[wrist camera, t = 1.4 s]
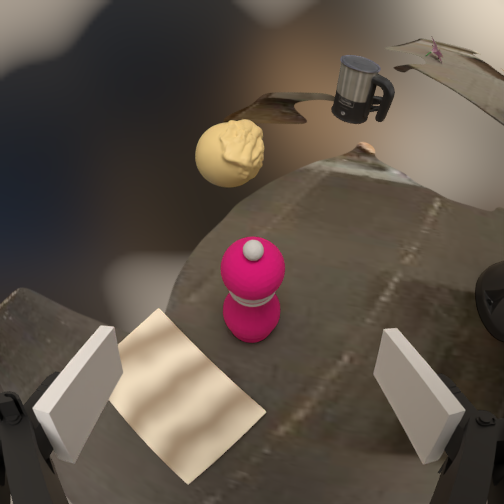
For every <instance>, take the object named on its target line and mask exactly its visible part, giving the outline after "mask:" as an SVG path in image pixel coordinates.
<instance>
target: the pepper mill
mask: <svg viewBox="0 0 504 504" xmlns="http://www.w3.org/2000/svg"><path fill="white" fill-rule="evenodd" d="M284 274H285V263H284V259H283V256H282V254H281V252H280V251H279V249H278V248H277V247H276V246H275V245H274V244H273V243H271V242H270V241H268V240H266V239H263V238H260V237H246V238H242V239H240V240H237V241H236V242H234V243H233V244H232V245H231V246H230V247H229V248H228V249H227V250H226V252H225V254H224V256H223V258H222V262H221V276H222V279H223V282H224V284H225V286H226V287H227V288H228V290H229V294H228V295H227V297H226V299H225V301H224V305H223V316H224V320H225V323H226V325H227V326H228V328H229V329H230V330H231V331H232V333H233V334H234V336H236V337H237V338H238V339H240V340H242V341H244V342H249V343H255V342H259V341H261V340H263V339H265V338H266V337H267V336H268V335H269V334H270V333H271V331H272V330H273V329H274V328H275V327H276V325H277V323H278V321H279V318H280V303H279V300H278V298H277V296H276V294H275V292H276V290H277V289H278V288H279V286H280V285H281V283H282V281H283V278H284Z"/></svg>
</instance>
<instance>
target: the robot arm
mask: <svg viewBox="0 0 504 504" xmlns="http://www.w3.org/2000/svg"><path fill="white" fill-rule="evenodd" d="M476 303H477V308H478V311H479V314H480V317H481V319H482V321H483V323H484V325H485V327H486V328H487V329H488V331H489V332H490V333H491V334H492V335H493V336H494V337H495V338H497V339H498V340H500V341H503V342H504V261H501V262H499V263H495V264H493V265H491V266H489V267H488V268H487V269H486V270H485V271H484V272H483V273H482V274H481V275H480V277H479V279H478V281H477V285H476ZM122 374H123V368H122V364H121V359H120V354H119V350H118V345H117V339H116V334H115V328H114V327H110V326H100V327H99V328H98V329H97V330H96V332H95V333H94V334H93V335H92V336H91V337H90V338H89V340H88V341H87V342H86V343H85V344H84V345H83V347H82V348H81V349H80V350H79V351H78V353H77V354H76V355H75V356H74V357H73V358H72V360H71V361H70V362H69V363H68V364H67V366H66V367H65V368H64V369H63V371H62V372H61V373H60V372H54V373H53V374H51V375H49V376H48V377H47V378H46V379H45V380H44V381H43V382H42V383H41V385H40V386H39V387H38V388H37V389H36V390H37V391H35V392H34V393H33V394H32V395H31V397H30V398H29V399H28V400H27V402H26V403H25V404H24V405H23V404H22V402H21V400H20V398H19V395H17V394H16V393H14V392H10V391H9V392H2V393H0V504H10V495H11V496H12V501H13V504H69V503H68V501H67V498H66V496H65V493H64V491H63V488H62V486H61V483H60V481H59V478H58V475H57V472H56V470H55V467H54V464H53V461H52V459H51V457H50V454H51V452H52V451H53V450H54V452H55V453H56V455H57V457H58V459H61V460H64V461H67V462H70V463H73V464H75V462H76V460H77V458H78V456H79V454H80V452H81V450H82V448H83V446H84V444H85V442H86V440H87V439H88V437H89V435H90V433H91V431H92V429H93V427H94V425H95V423H96V421H97V420H98V418H99V416H100V414H101V412H102V410H103V408H104V407H105V405H106V403H107V401H108V399H109V397H110V396H111V394H112V392H113V390H114V388H115V387H116V385H117V383H118V381H119V380H120V378H121V376H122ZM373 375H374V376H375V378H376V380H377V382H378V383H379V385H380V387H381V389H382V390H383V392H384V394H385V396H386V397H387V399H388V401H389V403H390V405H391V406H392V408H393V410H394V412H395V414H396V415H397V417H398V419H399V421H400V423H401V424H402V426H403V428H404V430H405V432H406V434H407V435H408V437H409V439H410V441H411V443H412V445H413V447H414V449H415V450H416V452H417V454H418V456H419V458H420V460H421V462H422V464H423V465H424V464H427V463H430V462H434V461H437V460H439V458H440V457H441V455H442V453H443V452H444V450H445V451H446V453H447V455H448V457H447V459H446V461H445V462H444V464H443V465H442V467H441V468H440V470H439V471H438V473H441V475H440V478H439V481H438V483H437V486H436V489H435V491H434V494H433V497H432V499H431V502H430V504H486V502H487V501H488V504H504V418H501V419H497V418H496V417H495V415H493V414H492V413H491V412H488V411H485V410H478V411H477V410H476V408H475V407H474V406H473V405H472V404H471V402H470V401H469V400H468V399H467V398H466V396H465V395H464V394H463V393H461V391H460V389H459V388H458V387H456V385H455V384H454V382H453V381H452V380H451V379H450V378H448V377H447V376H445V375H443V374H442V373H441V374H436V373H435V372H434V371H433V370H432V368H431V367H430V366H429V365H428V364H427V362H426V361H425V360H424V359H423V358H422V357H421V355H420V354H419V353H418V352H417V351H416V350H415V348H414V347H413V346H412V345H411V344H410V343H409V341H408V340H407V339H406V338H405V337H404V336H403V335H402V333H401V332H400V331H399V330H398V329H397V328H392V329H383V334H382V339H381V343H380V348H379V353H378V357H377V361H376V365H375V369H374V374H373ZM441 471H442V472H441Z"/></svg>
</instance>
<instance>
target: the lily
mask: <svg viewBox="0 0 504 504" xmlns="http://www.w3.org/2000/svg"><path fill="white" fill-rule="evenodd" d="M433 42H434V45H432V46H433V49H432V51H431V52H433V53H435V54H436V55H437V56H438V58H439V59H440V61H441V58H440V57H443V55H442V53H441V52H440V50H439V49H438V48H437V45H436V43H435V41H434V39H433ZM431 52H430V53H431ZM428 54H429V53H428ZM428 54H427V55H428ZM427 55H426V56H427ZM441 63H442V61H441Z"/></svg>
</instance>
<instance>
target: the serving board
mask: <svg viewBox="0 0 504 504" xmlns="http://www.w3.org/2000/svg"><path fill="white" fill-rule="evenodd" d="M118 350H119V354H120V359H121V364H122V368H123V374H122V376H121V378H120V380H119V381H118V383H117V385H116V387H115V388H114V390H113V392H112V394H111V396H110V397H109V400H110V402H111V403H112V404H113V405H114V407H115V408H116V409H117V410H118V412H119V413H120V414H121V415H122V416H123V418H124V419H125V420H126V421H127V422H128V423H129V425H130V426H131V427H132V428H133V429H134V430H135V431H136V433H137V434H138V435H139V436H140V437H141V438H142V439H143V440H144V441H145V443H146V444H147V445H148V446H149V447H150V448H151V449H152V450H153V451H154V452H155V453H156V454H157V455H158V456H159V457H160V458H161V459H162V460H163V461H164V462H165V463H166V464H167V465H168V466H169V467H170V468H171V469H172V470H173V471H174V472H175V473H176V474H177V475H178V476H179V477H180V478H181V479H182V480H183V481H185V482H186V483H187V484H189V483H191V482H192V481H193V480H194V479H195V478H196V477H198V476H199V475H200V474H201V473H202V472H203V471H205V470H206V469H207V468H208V467H209V466H210V465H211V464H213V463H214V462H215V461H216V460H217V459H218V458H219V457H220V456H221V455H222V454H224V453H225V452H226V451H227V450H228V449H229V448H230V447H231V446H232V445H233V444H234V443H235V442H236V441H237V440H239V439H240V438H241V437H242V436H243V435H244V434H245V433H246V432H247V431H248V430H249V429H250V428H251V427H252V426H253V425H254V424H255V423H256V422H257V421H258V420H259V419H260V418H261V417H262V416H263V415H264V414H265V413H266V411H265V410H264V409H263V408H262V407H261V406H259V405H258V404H257V403H256V402H255V401H254V400H253V399H251V398H250V397H249V396H248V395H247V394H246V393H245V392H244V391H243V390H241V389H240V388H239V387H238V386H237V385H236V384H235V383H234V382H233V381H232V380H230V379H229V378H228V377H227V376H226V375H225V374H224V373H223V372H222V371H221V370H220V369H219V368H218V367H217V366H216V365H215V364H214V363H212V362H211V361H210V360H209V359H208V358H207V357H206V356H205V355H204V354H203V353H202V352H201V351H200V350H199V349H198V348H197V347H196V346H195V345H194V344H193V343H192V342H191V341H190V340H189V339H188V338H187V337H186V336H185V335H184V334H183V333H182V332H181V331H180V330H179V329H178V328H177V326H176V325H175V324H174V323H173V322H172V321H171V320H170V319H169V318H168V317H167V316H166V315H165V314H164V313H163V312H162V311H161V310H160V308H158V309H157V310H156V311H155V312H154V313H152V314H151V315H150V316H149V317H148V318H147V319H146V320H145V321H144V322H142V323H141V324H140V325H139V326H138V327H137V328H136V329H135V330H134V331H133V332H131V333H130V334H129V335H128V336H127V337H126V338H125V339H124V340H123V341H122V342H120V343H119V344H118Z"/></svg>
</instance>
